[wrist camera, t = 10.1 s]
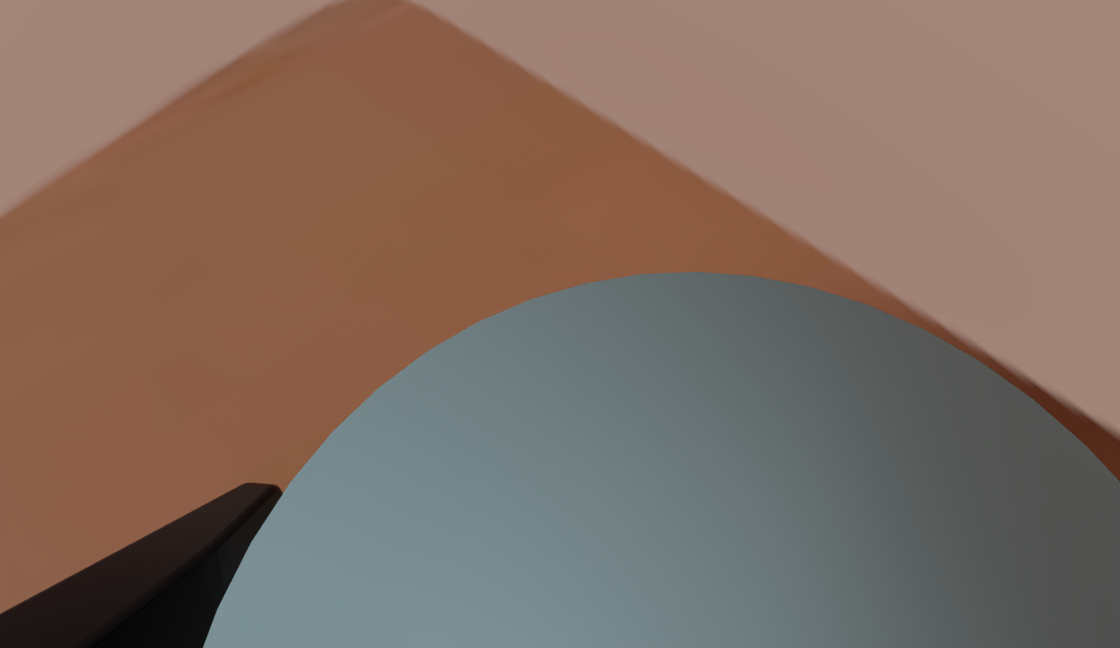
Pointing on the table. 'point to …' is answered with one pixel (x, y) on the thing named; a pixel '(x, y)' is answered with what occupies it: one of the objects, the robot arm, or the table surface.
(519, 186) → the table surface
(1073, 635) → the blue-grey cylinder
